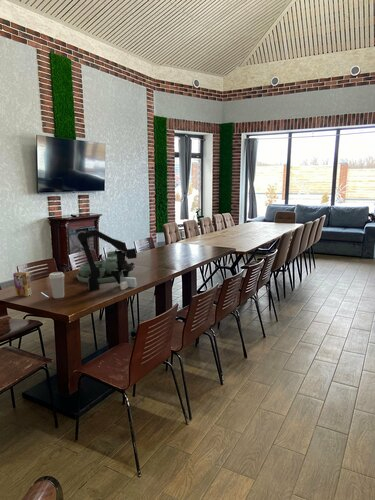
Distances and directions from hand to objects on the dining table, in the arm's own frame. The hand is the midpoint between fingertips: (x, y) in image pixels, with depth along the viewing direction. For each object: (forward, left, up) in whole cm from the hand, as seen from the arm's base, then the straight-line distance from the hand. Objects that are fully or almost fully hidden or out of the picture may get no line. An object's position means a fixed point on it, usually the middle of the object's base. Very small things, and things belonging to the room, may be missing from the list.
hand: (122, 282), depth 249 cm
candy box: (-59, +23, -3) cm, 63 cm away
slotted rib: (+2, -3, -3) cm, 5 cm away
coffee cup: (-42, +5, -3) cm, 42 cm away
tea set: (+1, +35, -3) cm, 35 cm away
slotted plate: (+2, -3, -3) cm, 5 cm away
